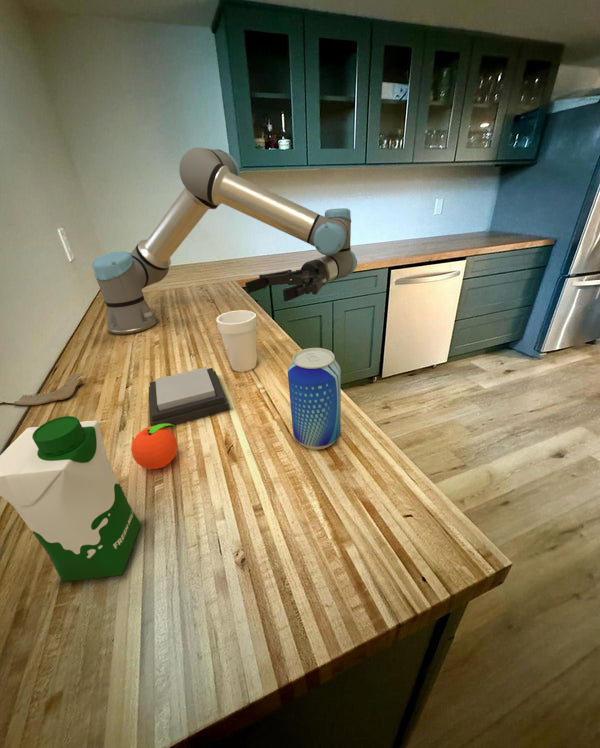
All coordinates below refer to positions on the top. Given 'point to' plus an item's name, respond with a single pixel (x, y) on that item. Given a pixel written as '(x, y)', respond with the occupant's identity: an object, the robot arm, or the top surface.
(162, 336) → the top surface
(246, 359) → the foam cup
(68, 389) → the jawbone
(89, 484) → the milk carton
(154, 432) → the clementine
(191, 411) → the scale
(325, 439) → the beer can
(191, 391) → the scale platform
